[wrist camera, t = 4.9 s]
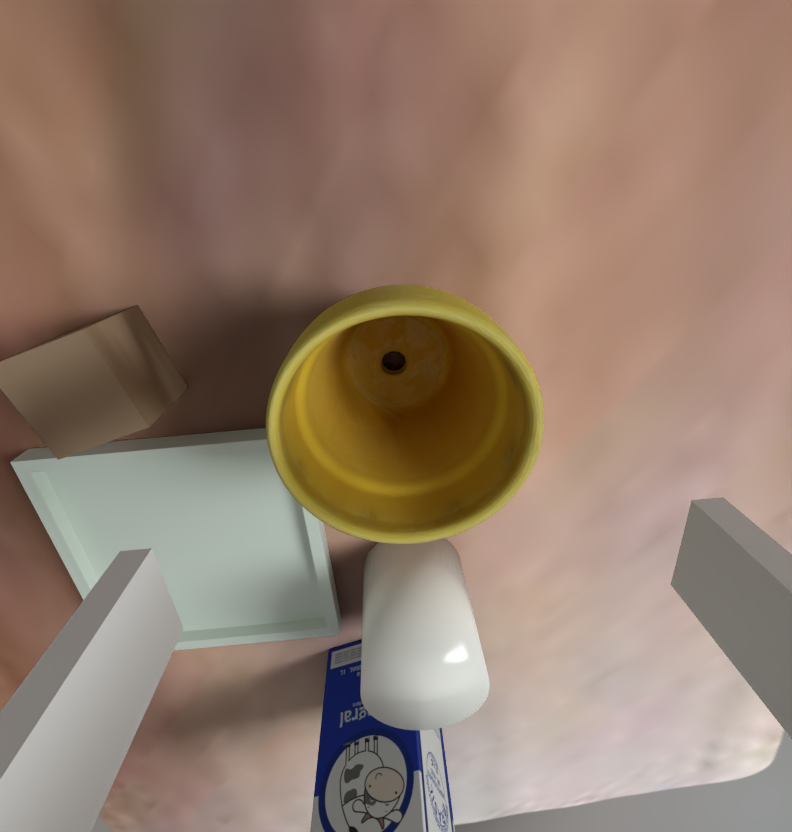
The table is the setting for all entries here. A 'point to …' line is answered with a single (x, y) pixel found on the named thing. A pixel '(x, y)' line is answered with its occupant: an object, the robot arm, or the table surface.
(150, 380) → the walnut block
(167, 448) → the tray
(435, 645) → the white rounded capsule
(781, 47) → the table surface
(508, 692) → the table surface
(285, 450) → the plant pot
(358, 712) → the milk carton
